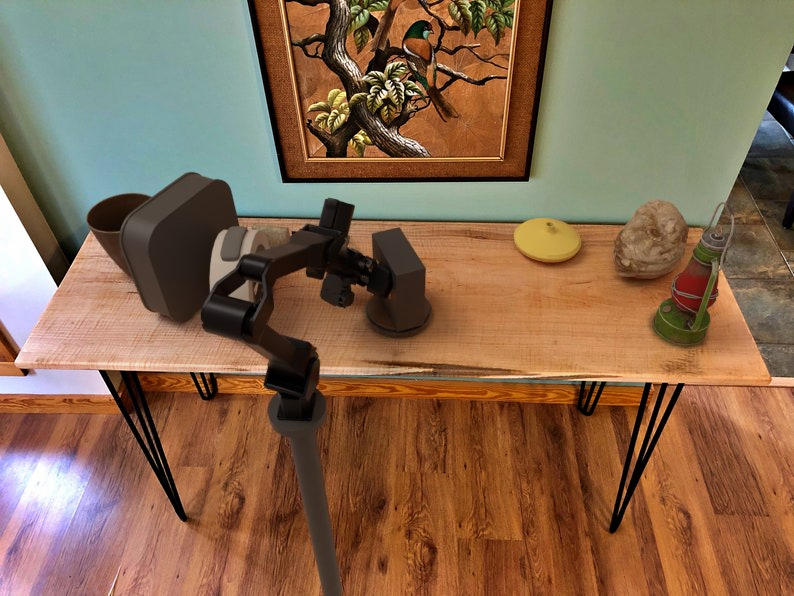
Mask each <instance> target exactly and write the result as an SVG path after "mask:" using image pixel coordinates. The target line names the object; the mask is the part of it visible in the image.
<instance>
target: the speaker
mask: <svg viewBox="0 0 794 596" xmlns="http://www.w3.org/2000/svg"><path fill="white" fill-rule="evenodd" d="M234 226H240V222H239V218H238V214H237V209H236V205H235V200H234V196H233V191H232V188H231V186H230V185H229V184H228V182H227V181H225V180H224V179H219V178H210V177H208V176H205V175H202V174H200V173H199V172H195V171H189V172H188V171H187V172H185V173H183V174H181V175H180V176H179V177H177V178H176V179H174V180H173V181H172V182H170V183H169V184H168V185H166V186H165V187H163V188H162V189H161V190H160V191H158V192H157V193H155V194H153V196H151V198H150V199H148V200H147V201H146V202H144V203H143V204H141V205H140V206H139V207H137V208H136V209H135V210H133V211H132V212H131V213H130V214H129V215H128V216H127V217H126V219H125V220H124V222H123V224H122V226H121V230H120V235H119V243H120V247H121V250H122V253H123V256H124V258H125V261H126V263H127V266H128V268H129V271H130V273H131V276H132V278H131V279H132V281H133V284H134V286H135V288H136V291H137V294H138V296H139V298H140V300H141V303H142V306H143V307H144V308H145V309H146V310H147V311H149V312H151V313H158V314H159V315H162V316H166V317H168V318H170V319H171V320H172V321H174V322H177V323H183V322H186V321H188V320H190V319H192V317H193V316H195V315H196V314H197V313H198V312H199V311H201V309H202V306H203V304H204V303H205V301H206V299H207V297H208V295H209V294H210V263H211V257H212V251H213V247H214V243H215V240H216V238H217V236H218V234H219V233H220V232H221V231H223V230H228V229H229V228H230V227H234Z"/></svg>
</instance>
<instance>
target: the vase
mask: <svg viewBox="0 0 794 596" xmlns="http://www.w3.org/2000/svg"><path fill="white" fill-rule="evenodd" d="M513 241H514V245H515V247H516V248H517V250H519V251H520V253H521V254H523V255H524V256H527V257H528V258H530V259H532V260H535V261H538V262H543V263H559V262H560V263H561V262H565V261H567V260H570V259H571V258H573V257H575V255H577V253H578V252H579V250H581V248H582V247H581V246H582V239H581V236H580V234H579V233H578V231H577V230H576V229H575V228H574V227H573V226H572V225H570V224H569V223H567V222H564V221H562V220H559V219H556V218H551V217H536V218H531V219H528V220H525V221H524V222H522V223H521V224H519V225H518V226H517V227H516V228H515V229H514V232H513Z"/></svg>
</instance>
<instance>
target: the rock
mask: <svg viewBox="0 0 794 596" xmlns="http://www.w3.org/2000/svg"><path fill="white" fill-rule="evenodd" d="M689 232H690V228H689V224H688V223H687V222H686V220H685V218H684V216H683V214H682V213H681V212H680V211H679V209H678V207H677V206H675V205H674V203H672V202H670V201H665V200H661V199H653V200H649V201H647V202H646V203H644V204H642V205H640V207H638V208H637V209H636V210H635V212H634V214H633V215H632V216H631V218H630V219H629V220H628V222H627V223H626V224H625V225H624V226H623V227H622V228H621V229H620V231H619V232H618V233H617V234H616V237H615V240H614V243H613V245H612V247H613V248H612V255H613V261H614V266H615V271H616V272H617V273H618V274H619V276H620V277H624V278H631V277H633V278H635V279H639V280H642V279H646V280H651V279H653V280H654V279H656V278H659V277H661V276H664V275H666V274H669V273H671V272H672V271H673V270H675V269H676V268H677V267H678V265H679V264H681V261H682V259H683V257H684V256H685V252H686V246H687V242H688V238H689Z"/></svg>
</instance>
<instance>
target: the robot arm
mask: <svg viewBox="0 0 794 596" xmlns="http://www.w3.org/2000/svg"><path fill="white" fill-rule="evenodd" d="M355 209H356V205H355V204H353V203H349V202H346V201H342V200H339V199H338V198H333V197H327V198H324V201H323V205H322V209H321V213H320V217H319V220H318V225H316V224H312V223H306V224H305V225H304V226H303V227H301V228H299V229H298V230H296V231H297V232H296V233H294V234H293V235H292V234H290V239H289V242H288V243H286V244H283V245H280V246H276V247H273V248H270V249H267V250H264V251H260V252H257V253H254V254H253V253H249V254H244V255H243V256H242V257H241V258H240V260H239V262H238V264H237V266H236V268H235V269H234V270H232V271H231V272H230V273H228V274H227V275H225V276H224V277H223V278H221V279H220V280H219V281H217V282H216V283H215V284H214V286H213V288H212V290H211V292H210V294H209V295H208V297H207V299H206V301H205V303H204V304H203V306H202V308H201V309H200V314H199V316H200V321H201V328H202V330H203V331H204V332H205V333H207V334H211V335H215V336H218V337H223V338H225V339H228V340H233V341H237V342H240V343H241V344H243V345H244V346H246V347H248V348H249V349H250V350H252V351H254V352H255V353H257V354H259V355H260V356H262V357H263V358H265V359H266V360H268V361H267V365H266V366H267V368H266V372H265V376H264V381H263V384H262V386H263V387H264V388H265V390H268V391H273V392H275V393H277V392H278V395H279V400H280V405H279V409H278V413H277V420H284V421H311V420H312V416H313V410H314V405H315V399H316V393H315V392H314V391H315V389H316V388H317V387H318V385H319V383H320V376H321V375H320V372H321V359H320V358H319V357H320V356H319V353H318V352H317V350H318V347H316V346H313V344H312V343H311V341H308V340H304V339H299V338H296V337H294V336H288V335H284V334H281V333H279V332H278V331H276V330H275V329H274V328H273V327H272V326H270V325H269V324H268V323H269V320H270V318H271V316H272V315H273V313H274V310H275V301H274V293H273V292H274V291H273V288H274V286H275V284H276V282H277V280H279V279H282V278H285V277H286V276H290V275H291V274H294V273H296V272H299V271H301V270H303V269H305V276H306V277H307V278H310V279H315V280H319V281H322V285H321V287H320V292H319V297H320V299H321V300H322V301H323V302H324V301H325V302H326V303H328V304H330V305H331V306H332V307H338V308H343V309H344V310H345V309H347V308H348V307H351V306H353V304H354V300H355V297H356V293H355V292H354V291H352V285H353V286H356V285H358V286H360V287H362V288H365V290H366V292H367V293H370V294H371V295H372V296H373V295H375V296H377V297H379V298H381V299H386V298H388V296H389V294H390V292H391V290H392V273H391V270H390V269H389V267H388V266H387V265H385V264H383V263H381V262H380V263H379V264H377V261H376V260H375V259H373V257H371V256H369V255H365V254H363V252H361V251H359V250H357V249H355V248H353V247H351V248H350V247H349V246H348V247H345V246H343V244H344V241H345V240H346V239H347V237H348V235H349V233H350V230H351V225H352V220H353V217H354V214H355ZM325 274H326V275H325ZM247 280H248V281H252V282H256V283H260V284H263V294H264V296H263V298H262V300H261V302H260V304H258V303H254V302H250V301H246V300H242V299H238V298H234V297H230V296H229V295H230V294H231V293H233V292H234V291H235V290H237V289H238V288H239V287H241V286H242V285H244V284H245V283H246V281H247ZM313 394H314V395H313ZM279 417H280V418H279ZM308 418H310V419H308Z"/></svg>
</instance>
